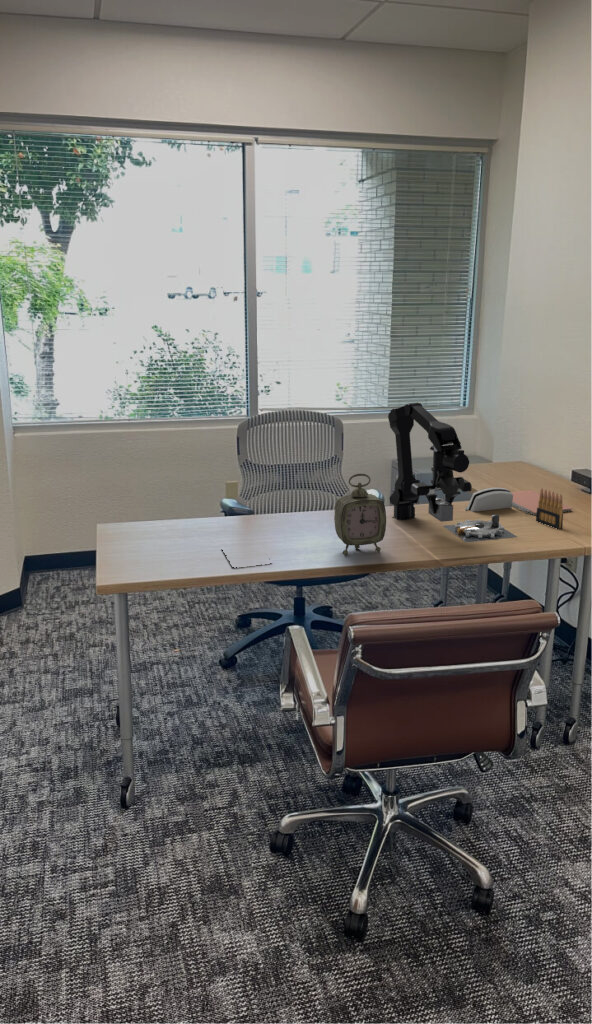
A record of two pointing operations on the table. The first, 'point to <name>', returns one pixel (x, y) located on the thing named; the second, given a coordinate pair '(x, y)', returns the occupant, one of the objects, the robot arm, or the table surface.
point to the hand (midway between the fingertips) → (440, 512)
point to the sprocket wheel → (480, 527)
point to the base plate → (473, 538)
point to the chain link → (442, 510)
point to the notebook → (530, 501)
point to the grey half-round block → (490, 499)
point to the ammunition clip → (550, 509)
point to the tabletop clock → (360, 517)
